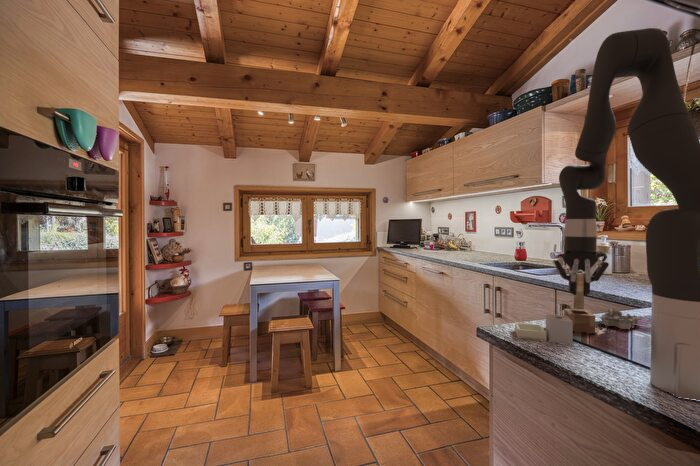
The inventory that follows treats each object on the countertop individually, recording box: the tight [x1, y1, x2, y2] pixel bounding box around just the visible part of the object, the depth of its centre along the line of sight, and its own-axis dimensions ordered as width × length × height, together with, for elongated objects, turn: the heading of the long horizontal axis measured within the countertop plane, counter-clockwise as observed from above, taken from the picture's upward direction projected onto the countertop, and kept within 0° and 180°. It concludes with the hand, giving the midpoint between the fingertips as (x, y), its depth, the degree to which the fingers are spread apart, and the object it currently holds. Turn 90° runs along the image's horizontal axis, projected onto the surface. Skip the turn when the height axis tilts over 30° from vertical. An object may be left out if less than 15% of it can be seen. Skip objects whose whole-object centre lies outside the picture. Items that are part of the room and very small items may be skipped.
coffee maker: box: [590, 250, 608, 276], centre depth 179 cm, size 15×9×18 cm, turn 17°
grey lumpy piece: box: [599, 307, 641, 329], centre depth 96 cm, size 11×8×4 cm
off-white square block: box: [545, 314, 573, 346], centre depth 84 cm, size 5×5×6 cm
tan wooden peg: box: [573, 272, 585, 310], centre depth 92 cm, size 2×2×10 cm
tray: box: [514, 321, 547, 342], centre depth 87 cm, size 7×7×2 cm
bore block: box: [563, 308, 596, 334], centre depth 92 cm, size 6×6×5 cm
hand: (579, 294), depth 92 cm, fingers closed on tan wooden peg, 2 cm apart
